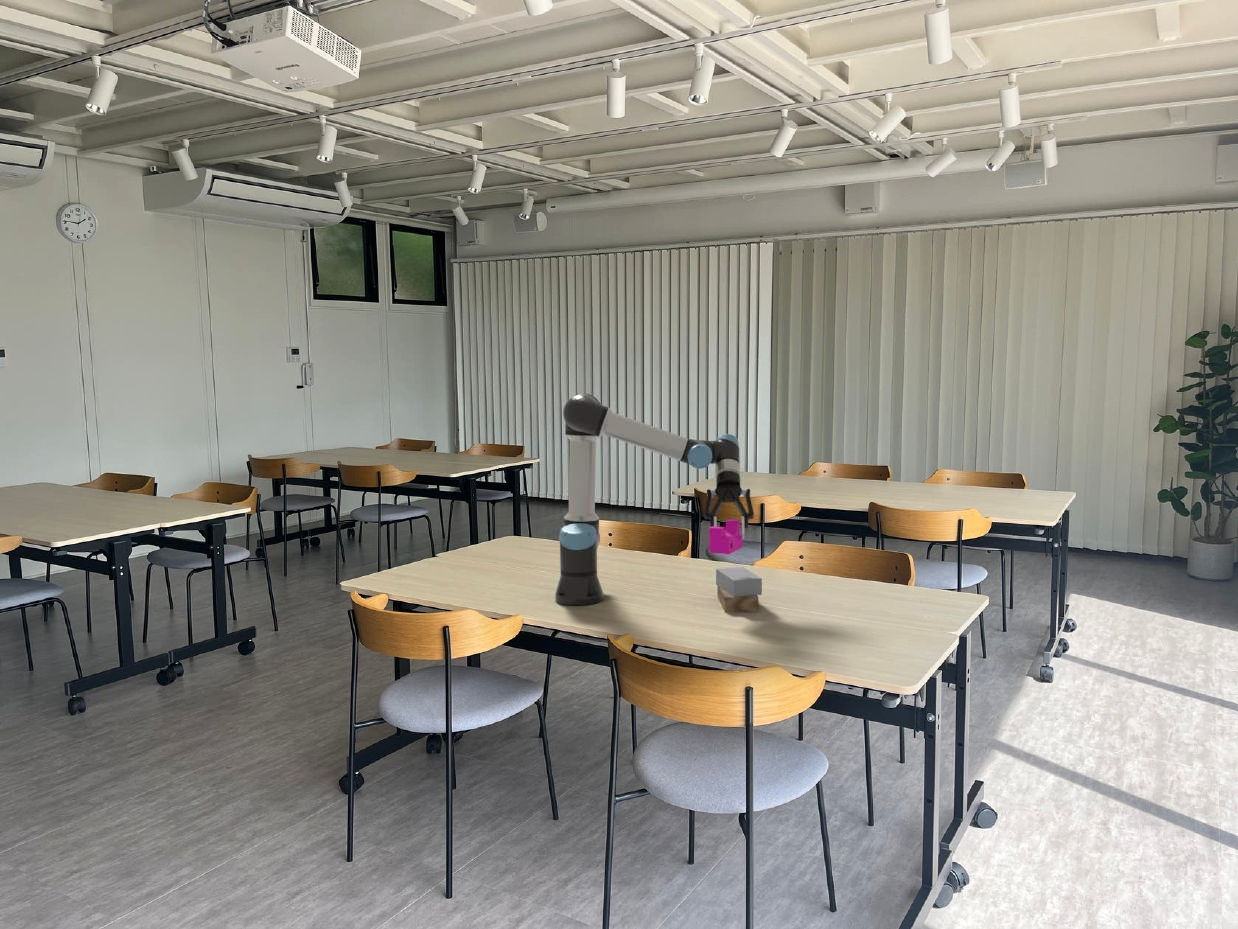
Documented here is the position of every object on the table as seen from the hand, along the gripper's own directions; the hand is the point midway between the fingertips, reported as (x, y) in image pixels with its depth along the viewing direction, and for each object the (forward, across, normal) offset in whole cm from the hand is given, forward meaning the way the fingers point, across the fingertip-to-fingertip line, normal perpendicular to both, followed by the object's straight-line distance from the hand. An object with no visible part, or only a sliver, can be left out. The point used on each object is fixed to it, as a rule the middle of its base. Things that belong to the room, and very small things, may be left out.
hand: (729, 536), depth 277 cm
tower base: (+14, -2, -18) cm, 23 cm away
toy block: (+3, 0, -2) cm, 4 cm away
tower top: (+10, -2, -15) cm, 18 cm away
